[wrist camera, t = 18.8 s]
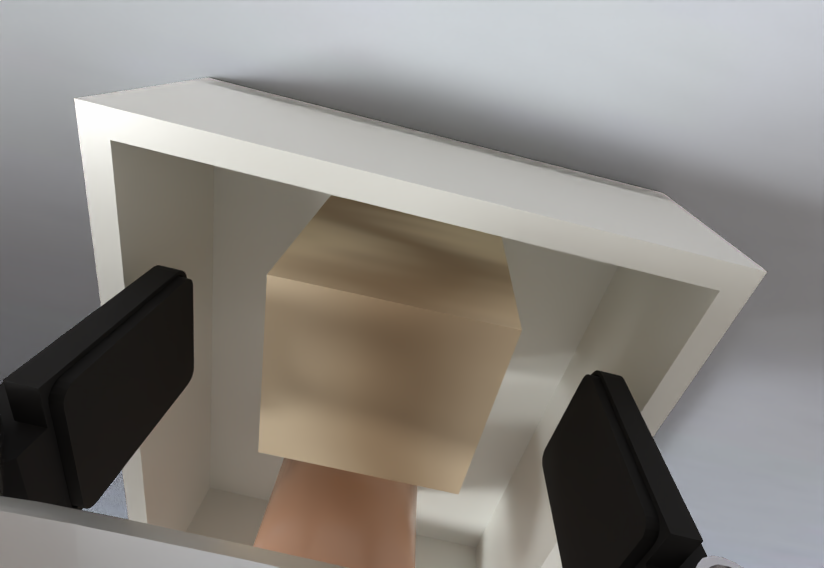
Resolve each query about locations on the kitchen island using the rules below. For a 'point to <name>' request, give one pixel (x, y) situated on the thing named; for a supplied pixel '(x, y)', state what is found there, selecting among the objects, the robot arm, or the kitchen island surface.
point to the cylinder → (340, 517)
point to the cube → (385, 344)
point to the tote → (414, 194)
